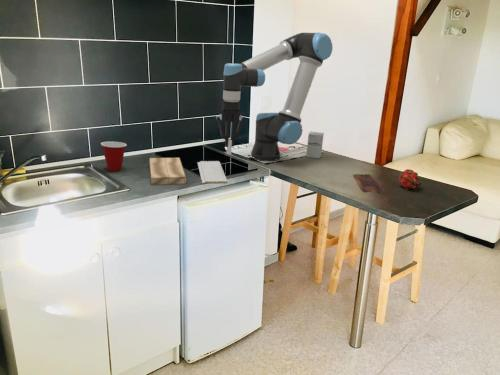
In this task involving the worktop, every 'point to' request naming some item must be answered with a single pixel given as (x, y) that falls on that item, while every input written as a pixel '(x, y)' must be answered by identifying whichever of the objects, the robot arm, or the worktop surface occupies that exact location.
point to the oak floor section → (167, 171)
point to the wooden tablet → (368, 183)
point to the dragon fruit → (409, 179)
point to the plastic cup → (114, 154)
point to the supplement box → (314, 144)
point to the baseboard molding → (211, 172)
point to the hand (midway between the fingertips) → (228, 153)
